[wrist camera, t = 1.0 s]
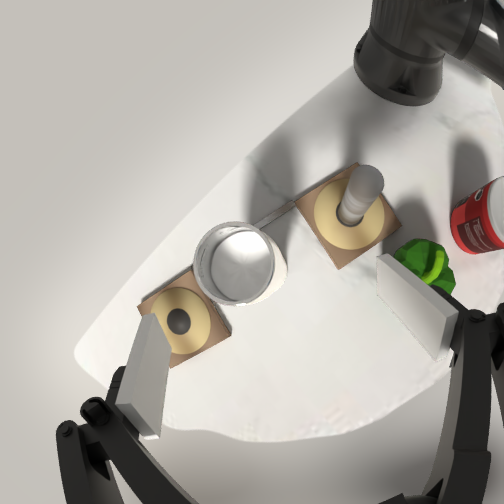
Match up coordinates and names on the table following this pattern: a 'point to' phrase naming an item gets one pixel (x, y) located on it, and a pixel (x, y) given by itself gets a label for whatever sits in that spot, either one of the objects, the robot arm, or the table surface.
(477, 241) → the canned food
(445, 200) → the table surface
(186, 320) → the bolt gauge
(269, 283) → the beer glass
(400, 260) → the bell pepper
